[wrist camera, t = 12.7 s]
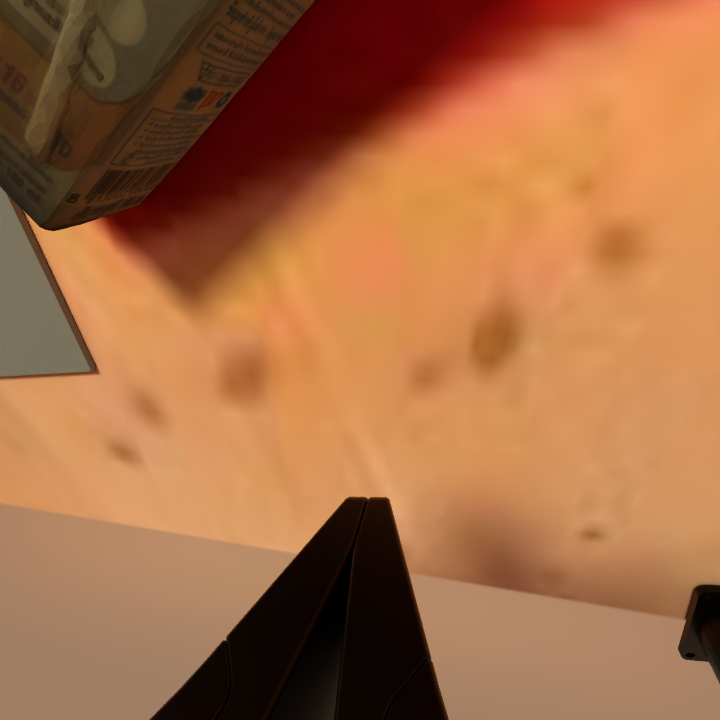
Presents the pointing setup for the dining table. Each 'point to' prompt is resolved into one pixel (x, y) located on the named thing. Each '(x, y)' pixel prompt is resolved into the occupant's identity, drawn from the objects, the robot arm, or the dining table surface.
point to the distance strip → (33, 306)
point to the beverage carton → (118, 93)
